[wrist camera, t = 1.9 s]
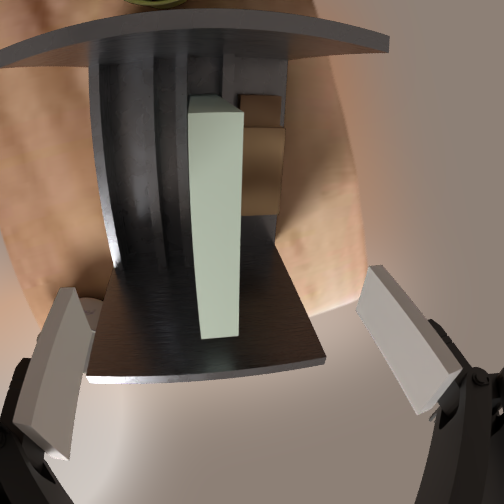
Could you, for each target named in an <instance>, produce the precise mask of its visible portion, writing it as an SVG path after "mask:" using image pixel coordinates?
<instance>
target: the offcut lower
mask: <svg viewBox="0 0 504 504" xmlns="http://www.w3.org/2000/svg"><path fill="white" fill-rule="evenodd" d="M281 99H282V96H277V95H260V94H238V107H237V108H238V109H240V110H241V111H243V112H244V125H280V115H281Z"/></svg>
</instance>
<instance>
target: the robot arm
mask: <svg viewBox="0 0 504 504" xmlns="http://www.w3.org/2000/svg"><path fill="white" fill-rule="evenodd" d="M356 312H357V314H358V315H359V317H360V318H361V320H362V322H363V323H364V325H365V327H366V328H367V330H368V331H369V333H370V335H371V336H372V338H373V340H374V341H375V343H376V345H377V346H378V348H379V350H380V351H381V353H382V355H383V356H384V358H385V360H386V362H387V363H388V365H389V367H390V368H391V370H392V372H393V374H394V375H395V377H396V379H397V381H398V382H399V384H400V386H401V388H402V389H403V391H404V393H405V395H406V397H407V398H408V400H409V402H410V404H411V405H412V407H413V409H414V411H415V413H416V414H417V415H419V414H421V413H423V412H426V411H428V410H430V409H431V408H432V407H433V406H434V404H435V403H436V402H437V401H438V403H439V405H440V407H439V408H438V409H437V410H436V411H435V412H434V413H433V414H432V416H431V417H430V419H429V421H432V420H433V418H434V417H435V416H436V420H435V421H434V422H435V426H434V431H433V436H432V441H431V446H430V450H429V454H428V458H427V462H426V466H425V470H424V474H423V477H422V481H421V485H420V488H419V491H418V494H417V497H416V501H415V504H504V413H503V414H502V415H499V410H500V409H501V408H502V407H503V412H504V368H503V369H502V370H501V371H500V373H494V374H488V373H487V372H486V371H485V370H483V369H481V368H478V367H473V368H472V367H471V366H470V364H469V363H468V362H467V360H466V359H465V358H464V356H463V355H462V354H461V352H460V351H459V349H458V348H457V347H456V345H455V344H454V343H452V340H451V339H450V337H449V336H447V333H446V332H445V331H444V330H443V328H442V327H441V326H440V325H439V324H437V323H436V322H435V321H433V320H432V319H430V320H427V319H426V318H425V316H424V315H423V314H422V313H421V312H420V310H419V309H418V308H417V306H416V305H415V304H414V303H413V301H412V300H411V299H410V298H409V296H408V295H407V294H406V293H405V292H404V290H403V289H402V288H401V287H400V286H399V284H398V283H397V282H396V281H395V280H394V278H393V277H392V276H391V275H390V274H389V272H388V271H387V270H386V269H385V268H384V267H383V265H376V266H369V267H368V271H367V274H366V278H365V281H364V285H363V288H362V291H361V295H360V298H359V301H358V304H357V308H356ZM91 336H92V331H91V328H90V326H89V324H88V321H87V319H86V316H85V313H84V311H83V308H82V305H81V303H80V300H79V297H78V294H77V292H76V289H75V287H67V288H60V289H59V291H58V293H57V296H56V298H55V300H54V302H53V305H52V307H51V309H50V312H49V314H48V316H47V319H46V321H45V323H44V326H43V328H42V331H41V333H40V336H39V339H38V341H37V344H36V347H35V349H34V352H33V355H32V358H23V359H22V360H21V362H20V363H19V364H18V365H17V367H16V368H15V371H14V374H13V377H12V381H11V383H10V386H9V390H8V392H7V396H6V399H5V402H4V406H3V409H2V413H1V416H0V504H74V503H73V501H72V500H71V499H70V497H69V496H68V494H67V493H66V492H65V490H64V489H63V487H62V486H61V484H60V483H59V481H58V480H57V478H56V476H55V475H54V473H53V472H52V470H51V468H50V467H49V465H48V463H47V462H46V461H45V460H44V452H46V453H47V454H48V455H49V456H51V457H52V458H56V459H62V460H68V461H69V457H70V449H71V440H72V433H73V426H74V419H75V413H76V407H77V400H78V395H79V390H80V385H81V379H82V375H83V370H84V365H85V361H86V357H87V352H88V348H89V344H90V340H91Z"/></svg>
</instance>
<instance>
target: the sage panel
mask: <svg viewBox="0 0 504 504" xmlns="http://www.w3.org/2000/svg"><path fill="white" fill-rule="evenodd" d="M243 127H244V112H243V111H241V110H240V109H238V108H237V107H235V106H234V105H232V104H231V103H229V102H227V101H226V100H224V99H223V98H221V97H220V96H218V95H216V94H196V95H191V96H190V102H189V109H188V154H189V184H190V206H191V224H192V240H193V254H194V267H195V280H196V291H197V302H198V312H199V322H200V331H201V339H209V338H221V337H232V336H239V277H240V231H241V192H242V158H243Z"/></svg>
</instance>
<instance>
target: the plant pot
mask: <svg viewBox="0 0 504 504" xmlns="http://www.w3.org/2000/svg"><path fill="white" fill-rule="evenodd" d="M124 1H127V2H129V3H133V4H137V5H144V6H151V7H154V8H159V9H167V8H172V7H175V6H178V5H180V4H182V3H184V2H185V1H187V0H156V1H158V2H151V0H124Z"/></svg>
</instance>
